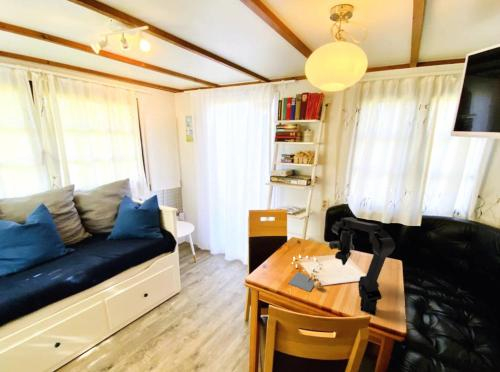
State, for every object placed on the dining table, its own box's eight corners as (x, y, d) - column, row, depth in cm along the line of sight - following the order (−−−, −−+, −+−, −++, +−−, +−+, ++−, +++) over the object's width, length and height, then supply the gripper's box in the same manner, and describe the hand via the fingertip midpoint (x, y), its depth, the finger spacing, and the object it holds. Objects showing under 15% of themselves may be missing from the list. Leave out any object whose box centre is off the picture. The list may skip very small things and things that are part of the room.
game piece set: (325, 273, 146) (325, 267, 146) (293, 272, 147) (293, 266, 146) (317, 257, 165) (317, 252, 165) (288, 257, 166) (289, 252, 165)
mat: (318, 279, 139) (318, 278, 138) (309, 292, 127) (309, 291, 127) (297, 272, 146) (297, 271, 146) (288, 283, 134) (288, 282, 134)
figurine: (311, 287, 127) (304, 270, 138) (313, 294, 130) (305, 277, 141) (326, 283, 127) (317, 266, 138) (327, 290, 130) (318, 273, 141)
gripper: (335, 230, 142) (333, 254, 145) (326, 241, 126) (324, 267, 129) (355, 235, 135) (352, 259, 138) (348, 246, 120) (345, 274, 123)
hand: (343, 264), depth 133 cm, fingers closed
